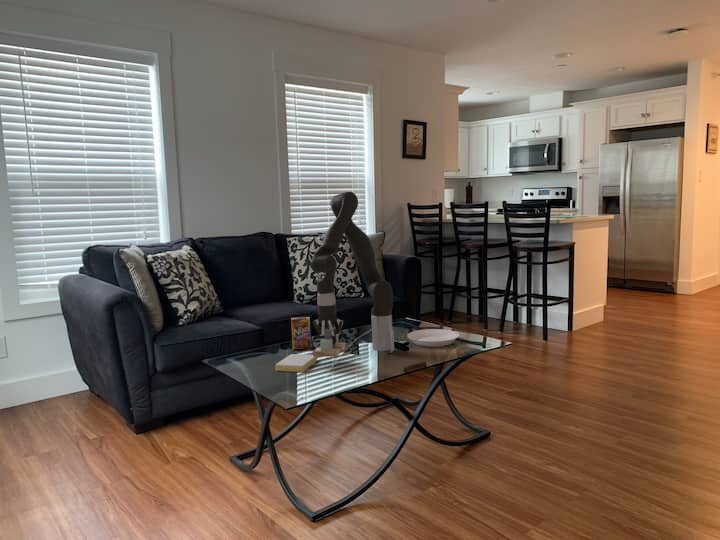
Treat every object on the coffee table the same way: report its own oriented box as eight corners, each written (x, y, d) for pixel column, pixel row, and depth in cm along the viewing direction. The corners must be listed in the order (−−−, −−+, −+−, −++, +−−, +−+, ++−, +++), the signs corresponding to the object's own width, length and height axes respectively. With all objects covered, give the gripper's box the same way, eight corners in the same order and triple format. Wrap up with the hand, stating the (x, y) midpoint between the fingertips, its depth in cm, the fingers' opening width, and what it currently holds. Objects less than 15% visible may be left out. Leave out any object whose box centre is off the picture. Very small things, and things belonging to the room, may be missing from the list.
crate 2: (329, 343, 238) (329, 334, 237) (338, 343, 237) (338, 334, 236) (326, 345, 234) (326, 336, 233) (335, 346, 233) (335, 336, 232)
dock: (317, 364, 240) (317, 355, 240) (303, 375, 225) (302, 365, 224) (291, 363, 244) (290, 354, 243) (275, 374, 228) (275, 364, 228)
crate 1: (324, 347, 231) (323, 338, 231) (333, 348, 230) (332, 338, 230) (320, 350, 227) (320, 341, 227) (329, 350, 226) (329, 341, 226)
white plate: (402, 348, 260) (402, 340, 260) (413, 335, 284) (412, 328, 284) (456, 349, 253) (455, 342, 253) (462, 336, 277) (462, 329, 276)
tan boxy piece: (324, 346, 240) (322, 324, 239) (346, 347, 238) (345, 324, 236) (313, 356, 227) (311, 332, 226) (336, 356, 224) (334, 332, 223)
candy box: (292, 350, 264) (290, 319, 262) (292, 348, 268) (290, 317, 266) (311, 349, 265) (309, 317, 263) (311, 347, 269) (309, 316, 268)
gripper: (345, 301, 231) (348, 341, 233) (313, 301, 235) (316, 341, 237) (340, 304, 224) (342, 346, 226) (307, 305, 228) (310, 346, 230)
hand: (329, 343), depth 232 cm, fingers closed on tan boxy piece, 3 cm apart
